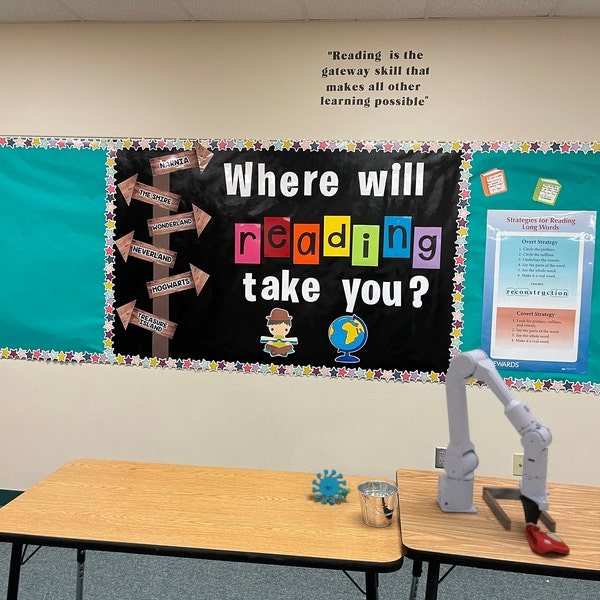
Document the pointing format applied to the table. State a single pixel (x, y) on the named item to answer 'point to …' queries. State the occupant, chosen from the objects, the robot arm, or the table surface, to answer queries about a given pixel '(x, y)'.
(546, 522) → the frame
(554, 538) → the tracker holder
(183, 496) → the table surface
